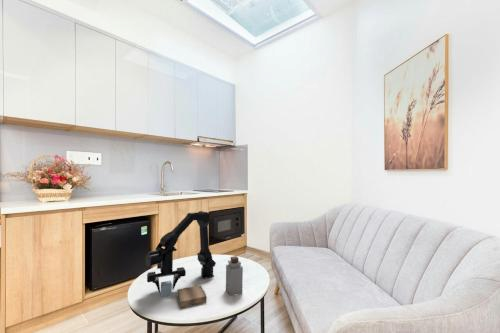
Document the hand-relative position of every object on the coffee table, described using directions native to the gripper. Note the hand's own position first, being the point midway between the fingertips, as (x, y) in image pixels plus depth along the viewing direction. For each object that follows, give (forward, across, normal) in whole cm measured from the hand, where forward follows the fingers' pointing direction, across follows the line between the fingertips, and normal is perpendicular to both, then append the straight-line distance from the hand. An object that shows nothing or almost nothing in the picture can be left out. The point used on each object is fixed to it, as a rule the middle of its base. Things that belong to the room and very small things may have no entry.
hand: (166, 290), depth 118 cm
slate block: (+1, 0, 0) cm, 1 cm away
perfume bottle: (+1, -33, +13) cm, 35 cm away
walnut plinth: (+1, -11, +11) cm, 16 cm away
